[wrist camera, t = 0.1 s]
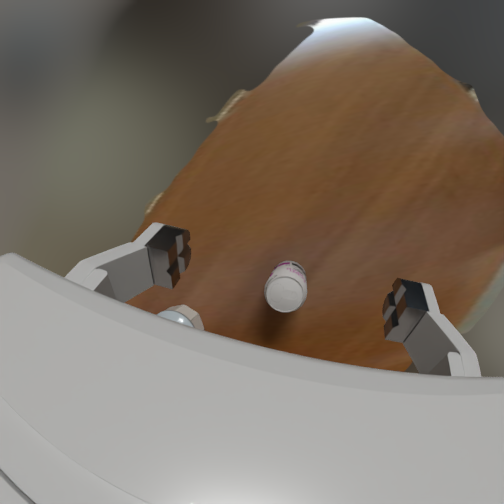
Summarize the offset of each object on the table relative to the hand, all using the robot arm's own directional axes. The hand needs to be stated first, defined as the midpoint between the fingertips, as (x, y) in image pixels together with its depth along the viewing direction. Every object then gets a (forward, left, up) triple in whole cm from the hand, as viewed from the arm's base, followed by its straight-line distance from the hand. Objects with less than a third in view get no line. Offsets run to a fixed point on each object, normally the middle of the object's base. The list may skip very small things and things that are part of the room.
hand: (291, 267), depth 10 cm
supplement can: (-11, +6, -55) cm, 56 cm away
